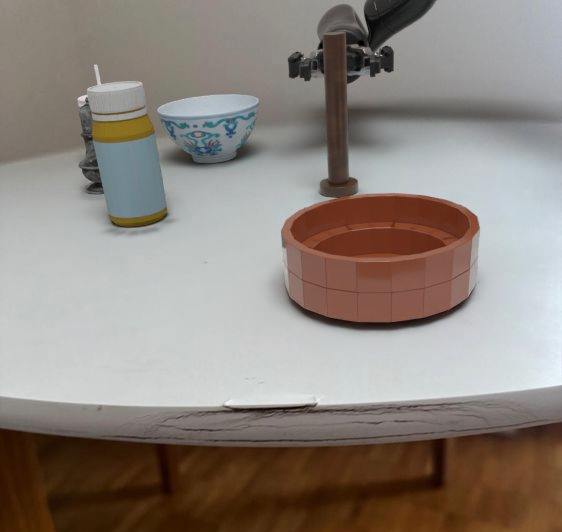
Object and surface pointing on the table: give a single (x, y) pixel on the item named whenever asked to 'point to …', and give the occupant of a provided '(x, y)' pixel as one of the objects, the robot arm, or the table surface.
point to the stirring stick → (336, 118)
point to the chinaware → (210, 124)
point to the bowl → (380, 256)
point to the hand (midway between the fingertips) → (339, 70)
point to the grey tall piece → (89, 151)
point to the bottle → (127, 154)
